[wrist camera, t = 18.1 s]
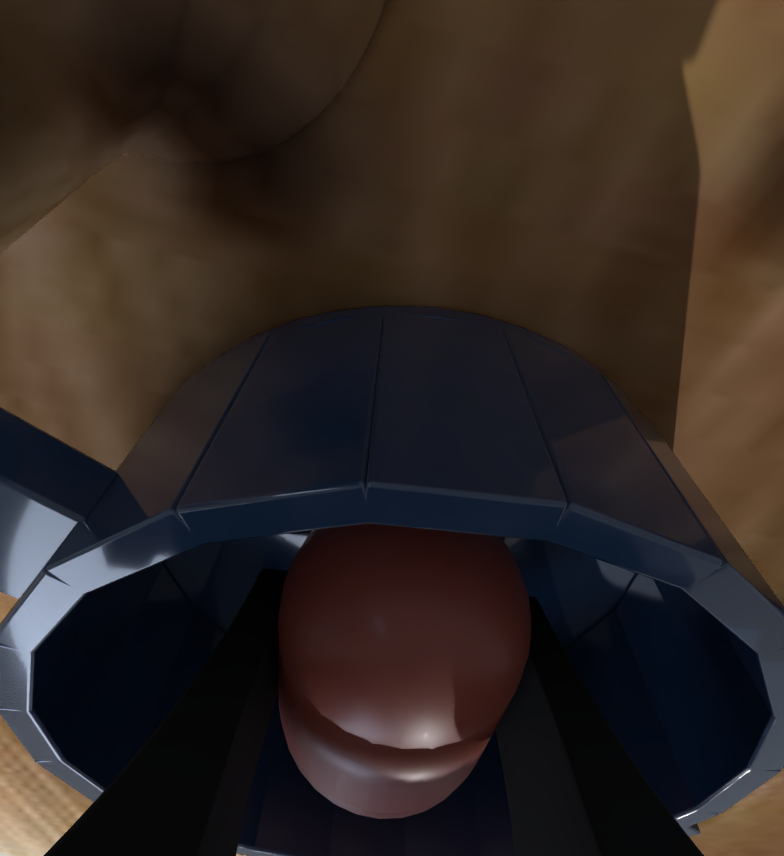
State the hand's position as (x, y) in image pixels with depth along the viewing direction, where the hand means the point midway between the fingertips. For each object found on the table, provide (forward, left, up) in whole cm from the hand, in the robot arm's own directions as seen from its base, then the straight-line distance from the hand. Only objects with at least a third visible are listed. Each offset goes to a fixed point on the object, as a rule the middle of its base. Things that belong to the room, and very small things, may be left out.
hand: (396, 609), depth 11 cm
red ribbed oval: (0, 0, -1) cm, 1 cm away
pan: (0, 0, -2) cm, 2 cm away
